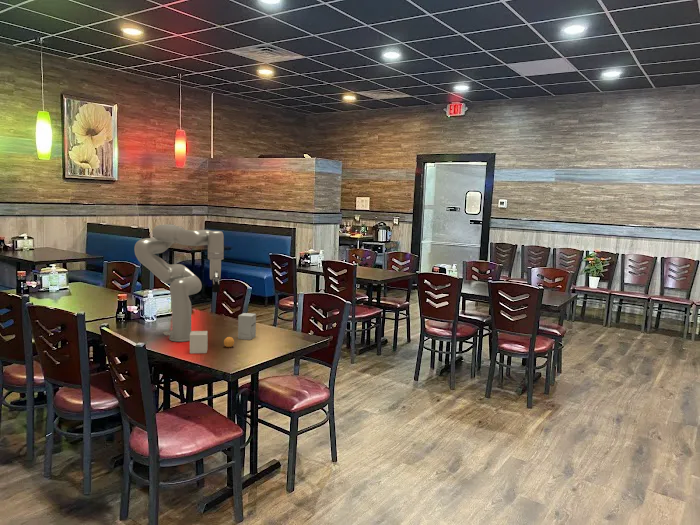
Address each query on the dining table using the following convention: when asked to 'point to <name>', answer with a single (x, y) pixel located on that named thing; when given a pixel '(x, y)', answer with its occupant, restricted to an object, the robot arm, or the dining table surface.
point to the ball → (229, 342)
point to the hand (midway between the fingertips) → (215, 290)
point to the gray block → (198, 341)
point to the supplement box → (246, 326)
